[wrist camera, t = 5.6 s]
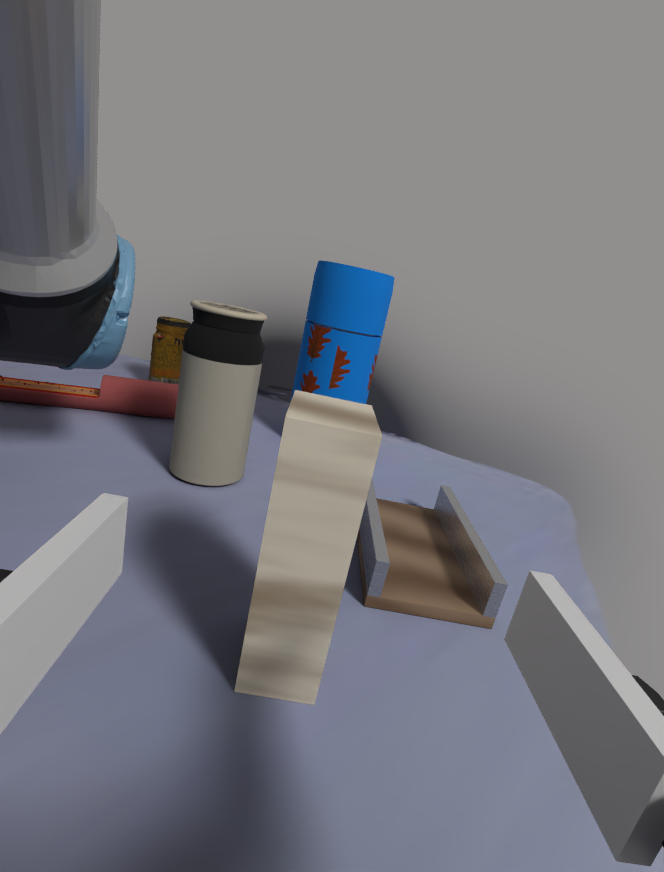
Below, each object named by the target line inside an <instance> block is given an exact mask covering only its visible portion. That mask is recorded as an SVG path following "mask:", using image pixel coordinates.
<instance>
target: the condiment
mask: <svg viewBox="0 0 664 872" xmlns="http://www.w3.org/2000/svg"><path fill="white" fill-rule="evenodd" d="M190 325H191V323H190V322H188V321H185V320H181V319H177V318H170V317H159V318H158V319H157V327H156V329H157V331H156V332H155V333H154V335H153V341H152V352H151V362H150V374H149V381H155V382H162V383H170V384H178V385H179V377H180V369H181V360H182V351H183V342H184V334H185V332H186V331H187V329H188V328H189V327H190Z"/></svg>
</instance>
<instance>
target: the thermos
mask: <svg viewBox="0 0 664 872" xmlns="http://www.w3.org/2000/svg"><path fill="white" fill-rule="evenodd" d="M393 284H394V277H393V276H390V275H386V274H383V273H379V272H375V271H371V270H367V269H362V268H358V267H353V266H349V265H344V264H339V263H333V262H328V261H319V262H318V265H317V268H316V272H315V275H314V281H313V285H312V291H311V296H310V301H309V307H308V312H307V317H306V319H307V321H306V323H305V328H304V334H303V339H302V344H301V350H300V355H299V360H298V365H297V371H296V376H295V381H294V387H293V392H292V397H293V395H294V392H295V390H298V391H303V392H308V393H313V394H318V395H323V396H328V397H332V398H337V399H342V400H347V401H352V402H357V403H362V404H366V401H367V397H368V393H369V388H370V384H371V380H372V376H373V372H374V367H375V363H376V359H377V355H378V350H379V346H380V342H381V338H382V337H381V336H382V334H383V330H384V325H385V321H386V317H387V313H388V309H389V304H390V300H391V296H392V291H393ZM292 397H291V400H292ZM290 403H291V402H290Z"/></svg>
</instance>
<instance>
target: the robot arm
mask: <svg viewBox="0 0 664 872" xmlns="http://www.w3.org/2000/svg"><path fill="white" fill-rule="evenodd" d="M100 10H101V0H0V360H2V361H12V362H21V363H31V364H39V365H47V366H56V367H59V368H61V369H65V370H71V369H74V368H82V369H103V368H106V367H108V366H109V365H111V364H112V363H113V362H114V361H115V360H116V358H117V356H118V354H119V352H120V350H121V347H122V344H123V341H124V337H125V334H126V329H127V323H128V318H127V317H128V315H129V312H130V308H131V304H132V298H133V290H134V281H135V252H134V248H133V247H132V245H131V243H129V242H128V241H127V240H125V239H122V238H121V237H119V236H118V235H117V234H116V230H115V227H114V224H113V221H112V219H111V217H110V215H109V214H108V212H107V211H106V209H105V208H104V207H103V205H102V204H101V203H100V202H99V201H98V200H97V199H96V186H97V184H96V183H97V182H96V181H97V142H98V99H99V55H100V12H101V11H100ZM127 506H128V497H123V496H118V495H112V494H107V493H103V494H102V495H100V496H99V497H98V498H97V499H96V500H95V501H94V502H92V503H91V504H90V505H89V506H88V507H87V508H86V509H84V510H83V511H82V512H81V513H80V514H79V515H78V516H76V517H75V518H74V519H73V520H72V521H71V522H69V523H68V524H67V525H66V526H65V527H64V528H63V529H61V530H60V531H59V532H58V533H57V534H56V535H55V536H53V537H52V538H51V539H50V540H49V541H48V542H47V543H45V544H44V545H43V546H42V547H41V548H40V549H38V550H37V551H36V552H35V553H34V554H33V555H32V556H30V557H29V558H28V559H27V560H26V561H25V562H24V563H22V564H21V565H20V566H19V567H18V568H17V569H16V570H14V571H9V570H3V569H0V734H1V733H2V732H3V730H4V729H5V728H6V726H7V725H8V724H9V722H10V721H11V720H12V718H13V717H14V716H15V714H16V713H17V712H18V710H19V709H20V708H21V706H22V705H23V704H24V702H25V701H26V700H27V698H28V697H29V696H30V694H31V693H32V692H33V690H34V689H35V688H36V686H37V685H38V684H39V682H40V681H41V680H42V678H43V677H44V676H45V674H46V673H47V672H48V670H49V669H50V668H51V666H52V665H53V664H54V662H55V661H56V660H57V658H58V657H59V656H60V654H61V653H62V652H63V650H64V649H65V648H66V646H67V645H68V644H69V642H70V641H71V640H72V638H73V637H74V636H75V634H76V633H77V632H78V631H79V629H80V628H81V627H82V625H83V624H84V623H85V621H86V620H87V619H88V617H89V616H90V615H91V613H92V612H93V611H94V609H95V608H96V607H97V605H98V604H99V603H100V601H101V600H102V599H103V597H104V596H105V595H106V593H107V592H108V591H109V589H110V588H111V587H112V585H113V584H114V583H115V581H116V580H117V579H118V577H119V576H120V575H121V573H122V564H123V552H124V541H125V529H126V517H127ZM504 640H505V642H506V644H507V645H508V647H509V649H510V651H511V653H512V655H513V657H514V659H515V661H516V663H517V665H518V667H519V669H520V671H521V673H522V675H523V677H524V679H525V681H526V683H527V685H528V687H529V689H530V691H531V693H532V695H533V697H534V699H535V701H536V703H537V705H538V707H539V709H540V711H541V713H542V715H543V717H544V719H545V721H546V723H547V725H548V727H549V729H550V731H551V733H552V735H553V737H554V739H555V741H556V743H557V745H558V747H559V749H560V751H561V753H562V755H563V757H564V759H565V761H566V763H567V765H568V767H569V769H570V771H571V773H572V775H573V777H574V779H575V781H576V783H577V785H578V786H579V788H580V790H581V792H582V794H583V796H584V798H585V800H586V802H587V804H588V806H589V808H590V810H591V812H592V814H593V816H594V818H595V820H596V822H597V824H598V826H599V828H600V830H601V832H602V834H603V836H604V838H605V840H606V842H607V844H608V846H609V848H610V850H611V852H612V854H613V856H614V858H615V860H616V861H618V862H625V863H631V864H638V865H645V866H651V864H652V863H653V861H654V859H655V857H656V856H657V854H658V852H659V851H660V849H661V847H662V845H663V847H664V700H663V699H662V698H661V696H660V695H659V694H658V693H657V692H656V691H655V690H654V689H652V688H651V687H650V686H649V685H648V684H646V683H645V682H644V681H643V680H642V679H640V678H639V677H638V676H634V675H631V674H630V673H629V672H628V670H627V669H626V668H625V667H624V665H623V664H622V663H621V662H620V660H619V659H618V658H617V656H616V655H615V654H614V653H613V651H612V650H611V649H610V648H609V646H608V645H607V644H606V643H605V641H604V640H603V639H602V637H601V636H600V635H599V634H598V632H597V631H596V630H595V629H594V627H593V626H592V625H591V624H590V622H589V621H588V620H587V618H586V617H585V616H584V615H583V613H582V612H581V611H580V610H579V608H578V607H577V606H576V605H575V603H574V602H573V601H572V599H571V598H570V597H569V596H568V594H567V593H566V592H565V591H564V589H563V588H562V587H561V586H560V584H559V583H558V582H557V580H556V579H555V578H554V577H553V575H551V574H546V573H540V572H535V571H529V574H528V576H527V579H526V582H525V585H524V587H523V590H522V593H521V595H520V598H519V601H518V603H517V606H516V609H515V611H514V614H513V617H512V619H511V622H510V625H509V628H508V630H507V633H506V636H505V638H504Z"/></svg>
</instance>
